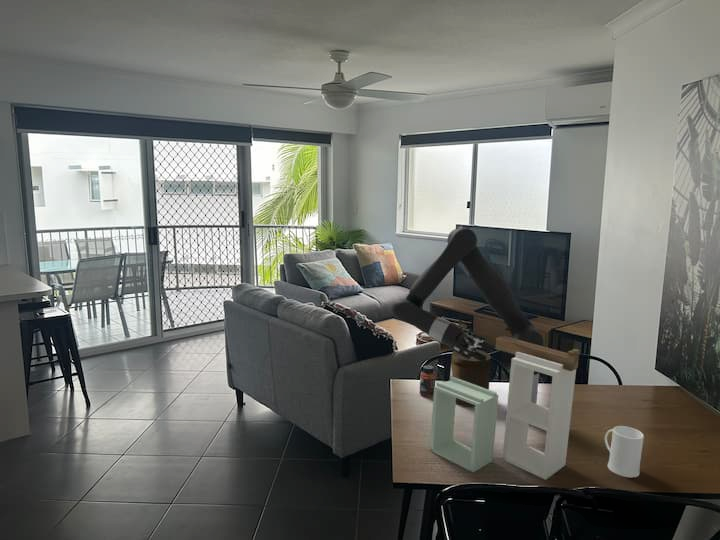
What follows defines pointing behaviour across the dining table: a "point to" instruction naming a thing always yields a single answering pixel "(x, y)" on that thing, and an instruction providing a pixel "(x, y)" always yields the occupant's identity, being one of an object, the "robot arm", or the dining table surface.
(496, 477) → the dining table surface
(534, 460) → the shelf stand
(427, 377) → the supplement bottle
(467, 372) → the wooden container
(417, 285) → the robot arm
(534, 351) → the hook bar
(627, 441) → the mug
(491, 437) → the rest stand
